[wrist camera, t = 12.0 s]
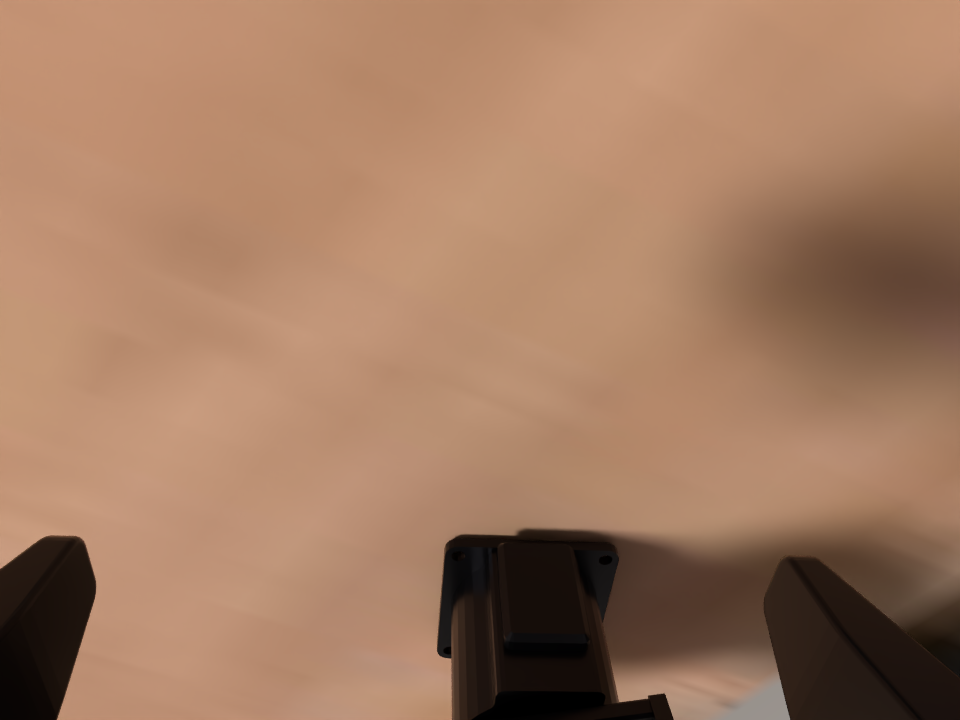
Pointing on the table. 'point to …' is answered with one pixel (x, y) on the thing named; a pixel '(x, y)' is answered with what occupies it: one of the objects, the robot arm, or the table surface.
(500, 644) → the robot arm
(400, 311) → the table surface
